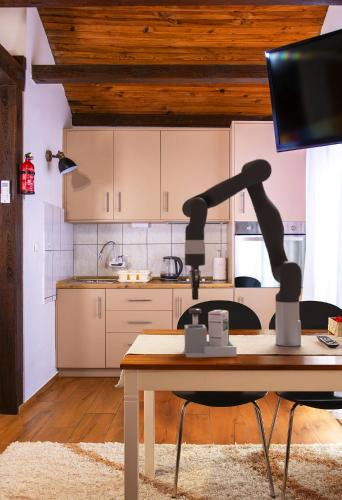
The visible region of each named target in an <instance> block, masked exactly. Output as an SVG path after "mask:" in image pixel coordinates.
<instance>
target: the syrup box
mask: <svg viewBox="0 0 342 500" xmlns="http://www.w3.org/2000/svg"><path fill="white" fill-rule="evenodd" d="M207 314H208V316H207V317H208V318H207V319H208V321H207V322H208V341H209V347H214V346H229V341H230V326H229V323H230V322H229V318H230V317H229V310H225V309H214V310H211V311H209V312H207Z"/></svg>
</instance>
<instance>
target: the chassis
mask: <svg viewBox="0 0 342 500" xmlns="http://www.w3.org/2000/svg"><path fill="white" fill-rule="evenodd" d="M207 330H208V329H207V327H206V325H205V324H198V328H193V324H184V349H183V350H184V354H185V357H186V358H216V357H217V358H220V357H221V358H223V357H224V358H225V357H228V358H229V357H234V358H235V357H237V348H238V347H237V346H236V344H235V343H234V342H233V341H232V340H229V346H214V347H209V340H208V339H207V338H208V336H207Z"/></svg>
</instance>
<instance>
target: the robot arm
mask: <svg viewBox="0 0 342 500" xmlns="http://www.w3.org/2000/svg"><path fill="white" fill-rule="evenodd" d="M272 172H273V171H272V165H271V163H270V162H269V161H268V160H267V159H264V158H256V159H253V160H251V161H248V162H245V163H244V164H243V166H242V167H241V171H240V172H239V173H237V174H236V175H233V176H231V177H230V178H229V177H228V178H227V179H225V180H223V181H221V182H218V183H216V184H215V185H213V186H212V187H209V188H208V189H206V190H205V191H203V192H201V193H199V194H197V195H194V196H192V197H190V198H188V199H186V200H185V201H184V202H183V204H182V207H181V211H182V213H183V215H184V216H185V217H187V218H189V223H188V224H187V225H185V232H184V233H185V236H184V237H185V239H184V240H185V241H184V265H185V266H187V267H188V266H190V267H191V268H190V270H188V271H189V272H188V273H189V282H190V287H191V300H193V301H198V300H199V290H200V283H201V276H202V274H201V273H202V271H201V270H200V269H199V268H200V267H203V266H206V244H205V227H206V223H207V218H208V212H209V211H208V209H212V208H215V207H218V206H219V205H220V204H223V203H224V202H225V201H227V200H229V199H230V198H232V197H233V196H235V195H237V194H239V193H240V192H241V191H243V190H246V191H247V193H248V196H249V198H250V201H251V204H252V207H253V210H254V213H255V216H256V220H257V223H258V227H259V229H260V233H261V235H262V236H261V237H262V239H263V242H264V245H265V249H266V252H267V255H268V259H269V265H270V269H271V275H272V277H273V279H274V280H275V282H277V283H279V291H278V292H277V293H276V294H275V298H274V299H275V344H276V345H278V346H282V347H283V346H284V347H297V346H302V321H301V320H300V297H301V295H302V284H303V282H302V281H303V279H302V278H303V276H302V275H303V274H302V270H301V267H300V265H299V264H298V263H297V262H295V261H289V260H288V257H287V254H286V253H287V252H286V250H285V244H284V243H285V242H284V240H285V227H284V226H285V225H284V222H283V220H282V219H283V218H282V216H281V212H280V211H279V209H278V208H277V206H276V205H275V204H274V203H273V201H272V200H271V199H270V198H269V196H268V194H267V193H266V191H265V187H264V184H263V183H264V182H266V181H267V180H268V179H269V178H270V177H271V175H272Z"/></svg>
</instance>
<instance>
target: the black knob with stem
mask: <svg viewBox="0 0 342 500" xmlns="http://www.w3.org/2000/svg"><path fill="white" fill-rule="evenodd" d="M188 312H189V313H188V314H191V315H192V325H193V328H198V325H199V315H200V314H202V309H201V308H197V307H196V308H189V311H188Z"/></svg>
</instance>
